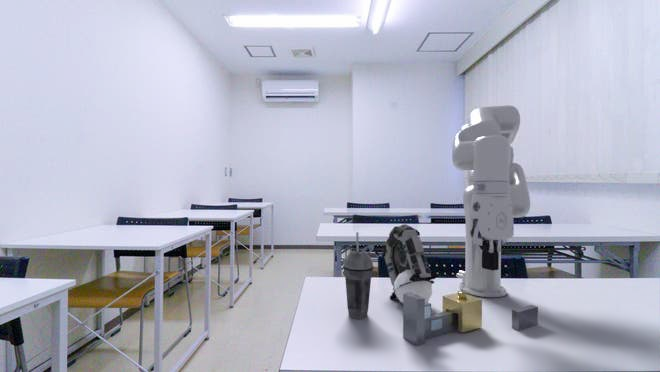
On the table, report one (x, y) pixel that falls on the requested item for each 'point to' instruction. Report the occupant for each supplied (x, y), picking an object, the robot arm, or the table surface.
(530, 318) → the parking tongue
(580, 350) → the table surface
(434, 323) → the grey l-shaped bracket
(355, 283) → the beverage cup
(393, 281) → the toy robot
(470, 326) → the tan box with knob
